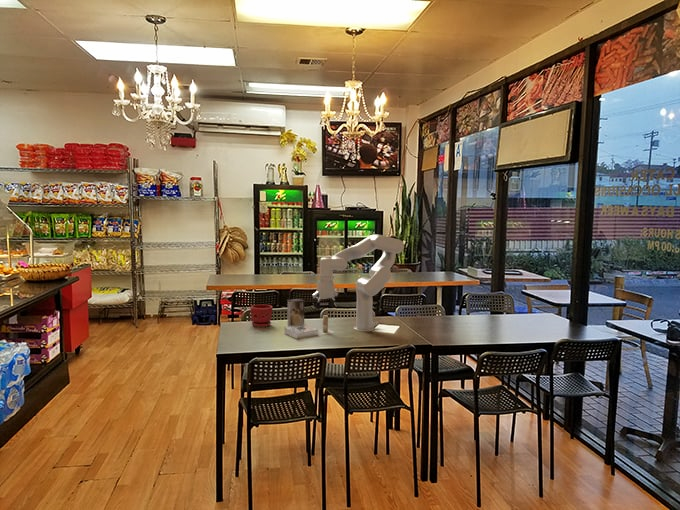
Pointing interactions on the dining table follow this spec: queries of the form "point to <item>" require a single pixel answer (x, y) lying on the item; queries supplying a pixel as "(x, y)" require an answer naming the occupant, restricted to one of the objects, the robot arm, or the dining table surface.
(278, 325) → the dining table surface
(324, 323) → the peg
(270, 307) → the plant pot
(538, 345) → the dining table surface
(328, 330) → the mat
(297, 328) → the socket block
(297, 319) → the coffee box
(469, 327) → the dining table surface
